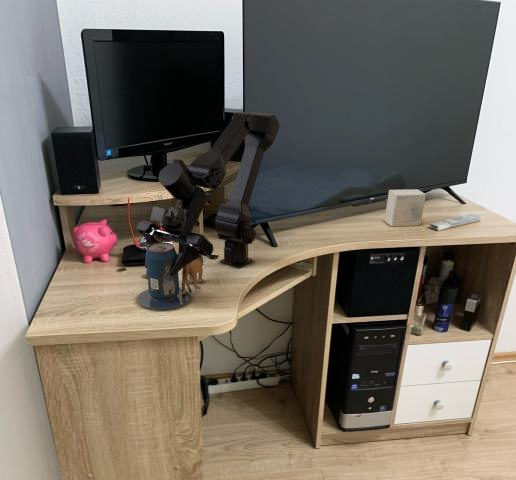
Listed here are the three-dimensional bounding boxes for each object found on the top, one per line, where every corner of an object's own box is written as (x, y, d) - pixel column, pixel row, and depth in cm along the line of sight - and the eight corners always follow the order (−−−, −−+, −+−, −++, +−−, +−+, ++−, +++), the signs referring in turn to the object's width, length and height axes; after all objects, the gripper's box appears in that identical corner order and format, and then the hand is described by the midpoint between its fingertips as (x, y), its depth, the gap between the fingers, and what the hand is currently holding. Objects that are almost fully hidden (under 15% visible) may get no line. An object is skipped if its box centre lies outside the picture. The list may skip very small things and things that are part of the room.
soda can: (161, 287, 129) (157, 239, 123) (185, 293, 126) (182, 244, 120) (143, 298, 123) (138, 248, 117) (168, 305, 121) (164, 254, 115)
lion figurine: (183, 277, 137) (181, 242, 134) (204, 276, 138) (203, 241, 134) (180, 295, 124) (178, 257, 120) (203, 295, 124) (202, 257, 121)
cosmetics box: (391, 226, 176) (396, 194, 171) (383, 221, 182) (388, 189, 177) (421, 225, 178) (426, 193, 173) (412, 219, 184) (417, 188, 179)
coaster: (164, 284, 132) (164, 282, 132) (201, 297, 126) (200, 295, 126) (126, 300, 124) (126, 298, 124) (163, 315, 118) (163, 313, 117)
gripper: (137, 184, 120) (106, 245, 118) (203, 198, 112) (171, 264, 109) (163, 211, 130) (135, 268, 127) (226, 225, 121) (197, 287, 119)
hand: (158, 271), depth 120 cm, fingers closed on soda can, 7 cm apart
